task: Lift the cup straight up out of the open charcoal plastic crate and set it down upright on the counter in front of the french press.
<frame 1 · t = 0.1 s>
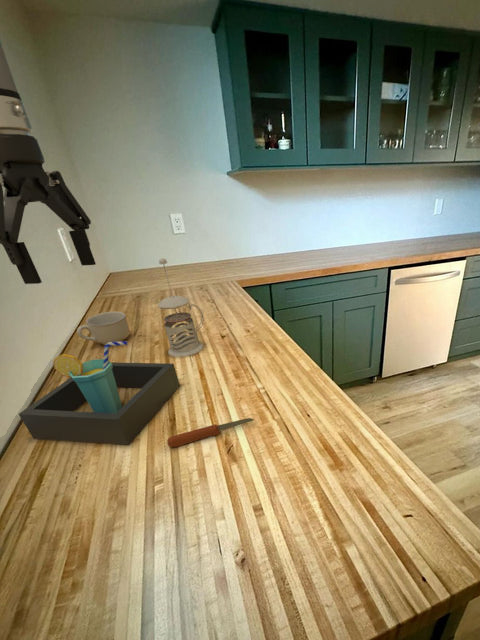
hand: (63, 273, 63), 27 cm above the table, tool pointing down, fingers open, 13 cm apart
teacup: (109, 343, 104), on the table
french press: (189, 348, 97), on the table
crate: (113, 409, 72), on the table
cup: (114, 410, 72), resting in crate
kitchen knife: (213, 435, 62), on the table
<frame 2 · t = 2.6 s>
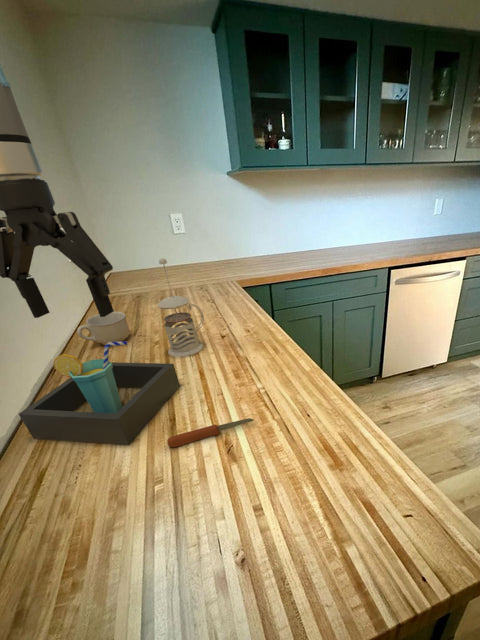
hand: (74, 314, 61), 21 cm above the table, tool pointing down, fingers open, 13 cm apart
nothing on the table moved.
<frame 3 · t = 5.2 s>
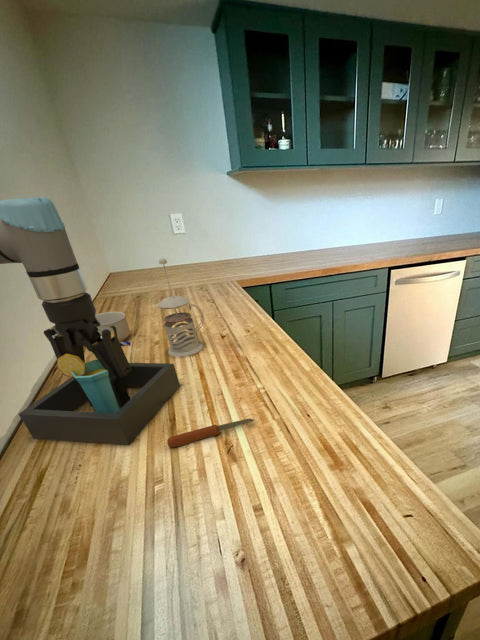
hand: (110, 403, 71), 2 cm above the table, tool pointing down, fingers closed on cup, 6 cm apart
cup: (116, 410, 71), resting in crate, touching gripper
everything else where it was.
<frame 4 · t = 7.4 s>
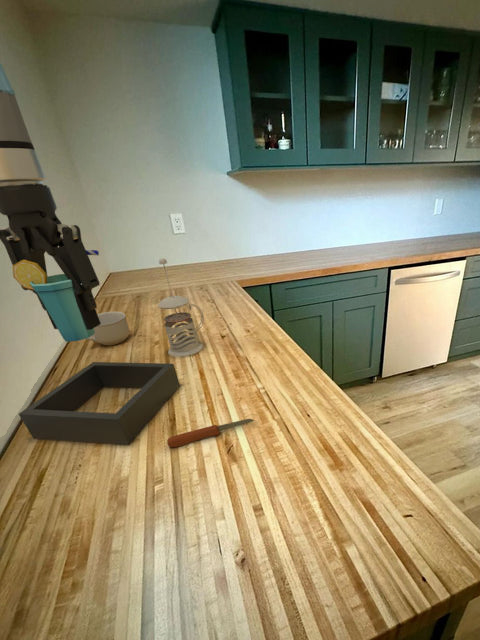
hand: (77, 326, 63), 19 cm above the table, tool pointing down, fingers closed on cup, 6 cm apart
cup: (85, 335, 63), point 17 cm above the table, touching gripper
everything else where it was.
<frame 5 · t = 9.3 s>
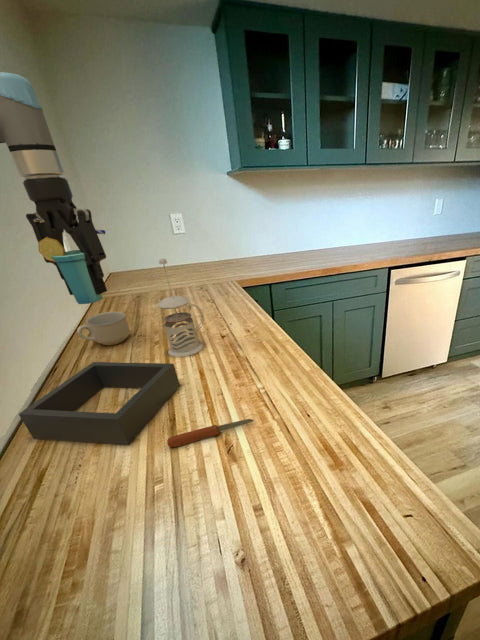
hand: (88, 292, 78), 20 cm above the table, tool pointing down, fingers closed on cup, 6 cm apart
cup: (94, 300, 79), point 18 cm above the table, touching gripper
everything else where it was.
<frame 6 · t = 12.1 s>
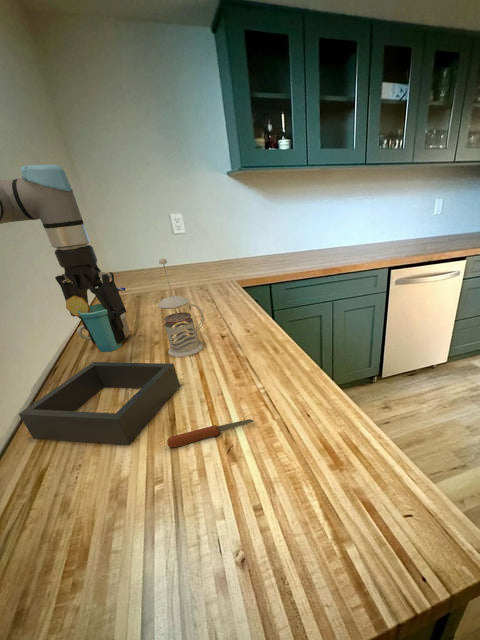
hand: (109, 341, 86), 7 cm above the table, tool pointing down, fingers closed on cup, 6 cm apart
cup: (114, 347, 87), point 5 cm above the table, touching gripper
everything else where it was.
when the fingers open (2 cm above the table, at t = 13.8 s): cup stays where it is, on the table.
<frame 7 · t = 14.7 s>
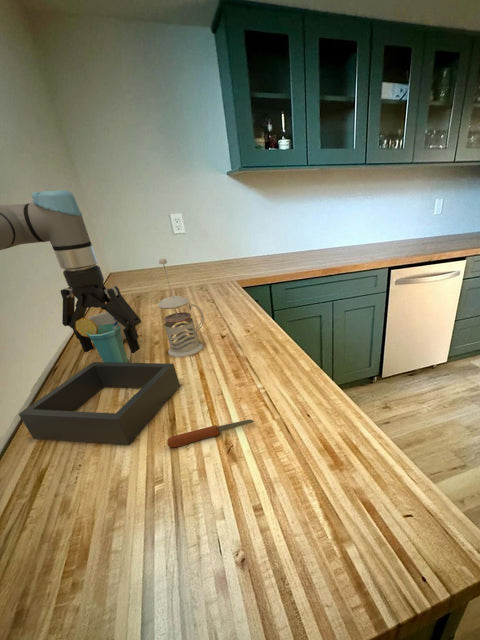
hand: (112, 350, 87), 4 cm above the table, tool pointing down, fingers open, 13 cm apart
cup: (121, 366, 90), on the table
everything else where it was.
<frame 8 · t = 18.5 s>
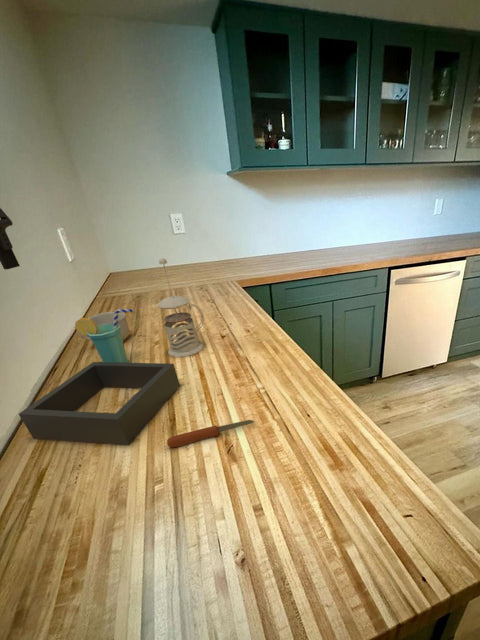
nothing on the table moved.
at the end: cup inside the target area (0.8 cm from its centre), on the table; cup tilted 0° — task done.
